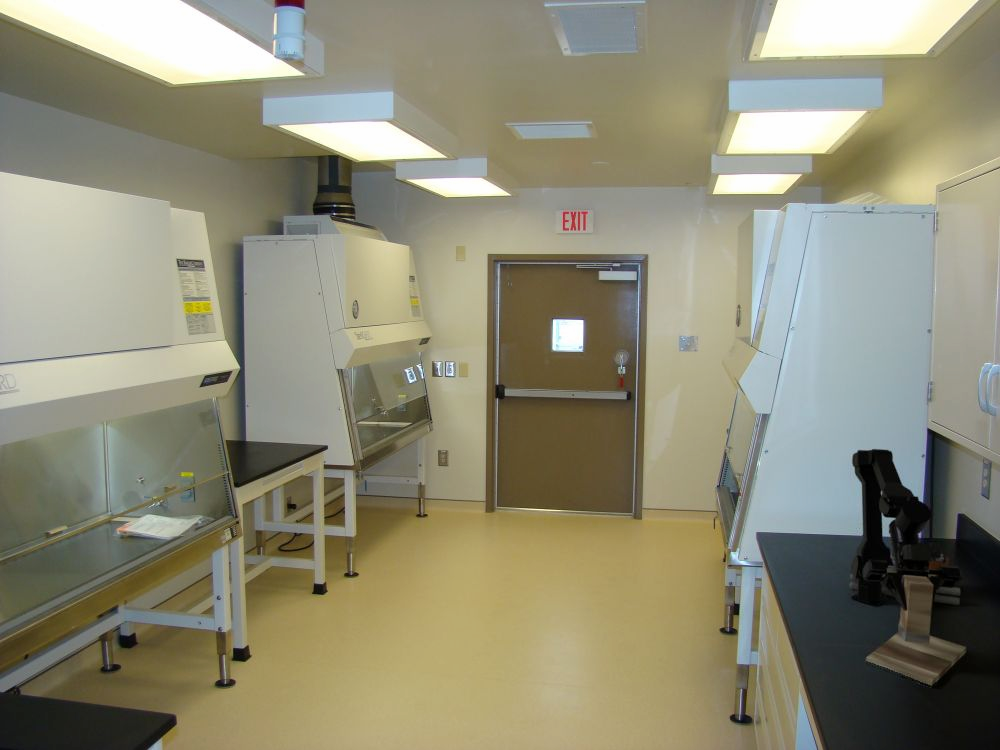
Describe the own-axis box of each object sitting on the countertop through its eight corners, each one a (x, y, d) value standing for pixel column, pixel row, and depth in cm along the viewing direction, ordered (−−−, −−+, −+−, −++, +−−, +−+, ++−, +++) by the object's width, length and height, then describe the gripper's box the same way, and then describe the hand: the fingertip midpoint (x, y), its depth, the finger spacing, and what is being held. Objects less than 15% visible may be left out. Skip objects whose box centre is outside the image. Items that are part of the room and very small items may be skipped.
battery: (927, 593, 202) (929, 557, 201) (927, 585, 208) (930, 550, 206) (945, 597, 200) (948, 561, 198) (946, 589, 205) (949, 553, 204)
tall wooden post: (898, 631, 166) (902, 574, 165) (921, 633, 165) (926, 576, 164) (904, 641, 161) (909, 583, 160) (929, 643, 160) (934, 585, 159)
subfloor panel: (903, 633, 178) (904, 627, 178) (965, 653, 169) (966, 647, 168) (865, 664, 163) (866, 657, 163) (931, 687, 154) (932, 680, 154)
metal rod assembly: (957, 603, 196) (959, 585, 195) (959, 608, 194) (961, 589, 193) (848, 587, 206) (849, 570, 205) (849, 591, 203) (850, 573, 203)
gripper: (869, 524, 166) (880, 591, 157) (963, 530, 162) (979, 600, 153) (858, 546, 175) (867, 612, 165) (947, 553, 171) (961, 621, 162)
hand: (917, 611), depth 161 cm, fingers closed on tall wooden post, 4 cm apart
